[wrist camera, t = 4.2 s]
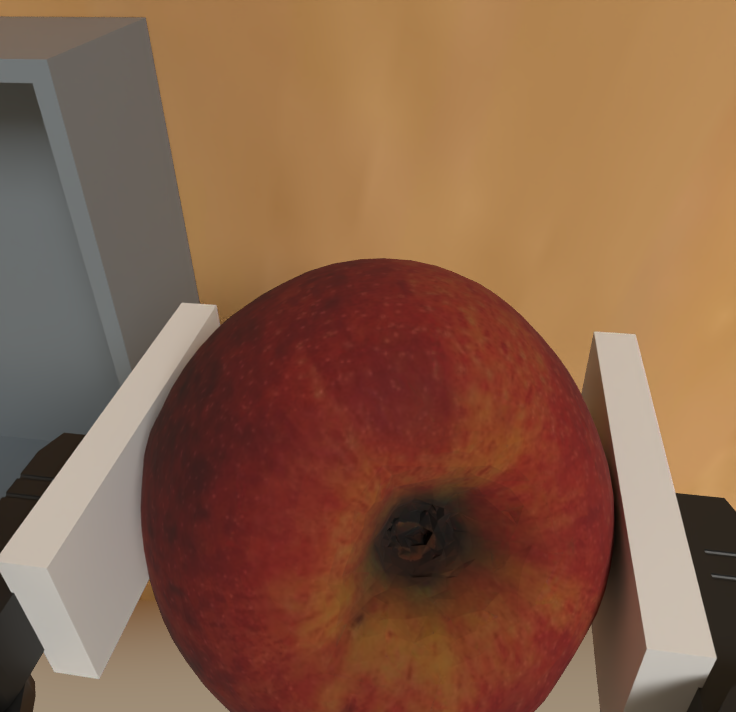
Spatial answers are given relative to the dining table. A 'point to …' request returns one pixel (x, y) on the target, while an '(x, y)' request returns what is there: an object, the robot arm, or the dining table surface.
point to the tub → (80, 224)
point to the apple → (377, 500)
